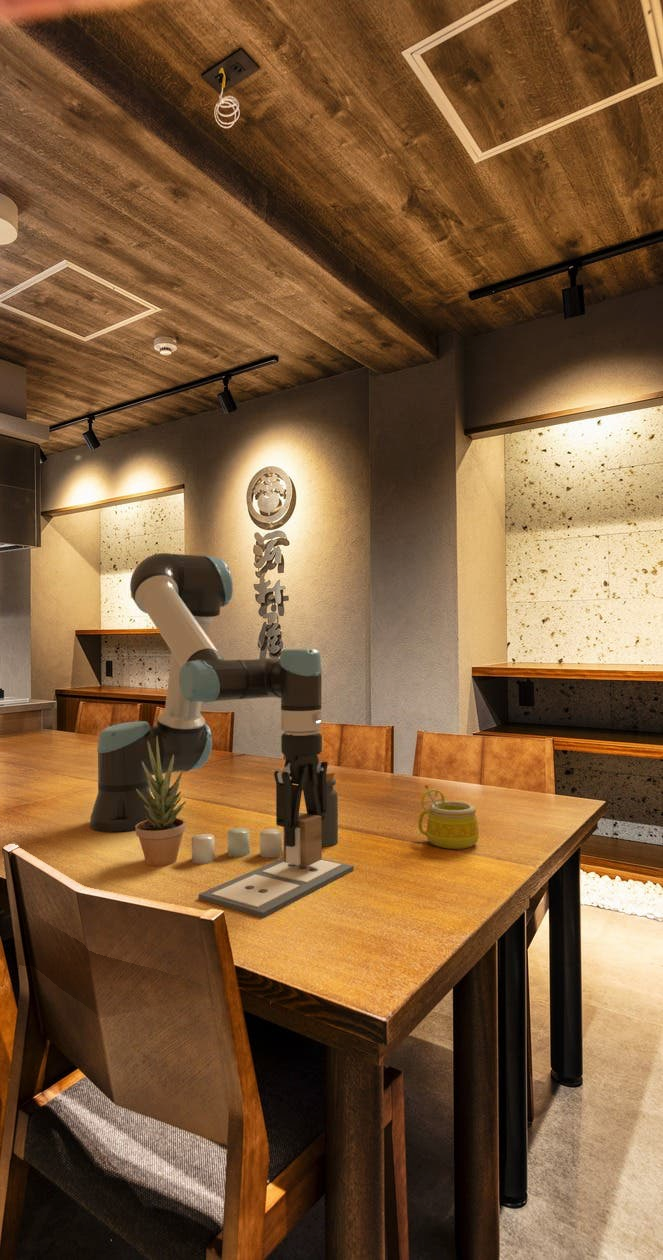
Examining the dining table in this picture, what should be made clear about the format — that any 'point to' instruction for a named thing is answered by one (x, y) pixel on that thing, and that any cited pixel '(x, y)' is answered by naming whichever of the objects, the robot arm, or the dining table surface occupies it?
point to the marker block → (308, 839)
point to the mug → (449, 822)
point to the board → (274, 886)
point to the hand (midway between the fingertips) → (302, 858)
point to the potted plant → (161, 816)
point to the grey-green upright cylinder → (238, 842)
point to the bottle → (330, 813)
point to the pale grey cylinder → (203, 848)
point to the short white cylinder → (270, 843)
